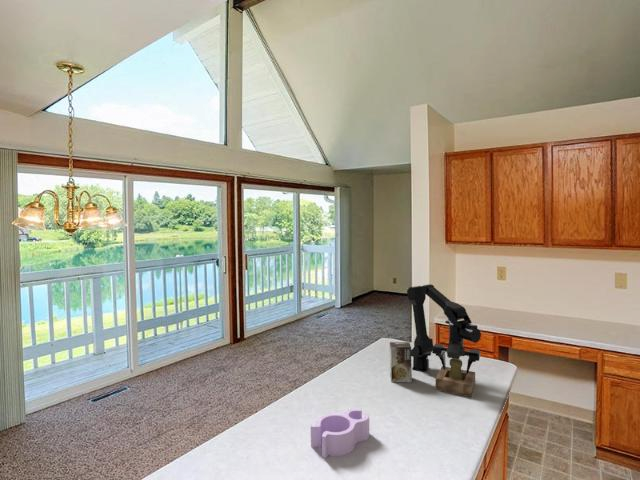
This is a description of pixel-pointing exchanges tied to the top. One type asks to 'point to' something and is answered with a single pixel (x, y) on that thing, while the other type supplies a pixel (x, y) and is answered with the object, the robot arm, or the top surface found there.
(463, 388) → the well block
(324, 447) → the clip
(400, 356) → the coffee box
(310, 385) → the top surface
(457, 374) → the olive tall rounded piece
